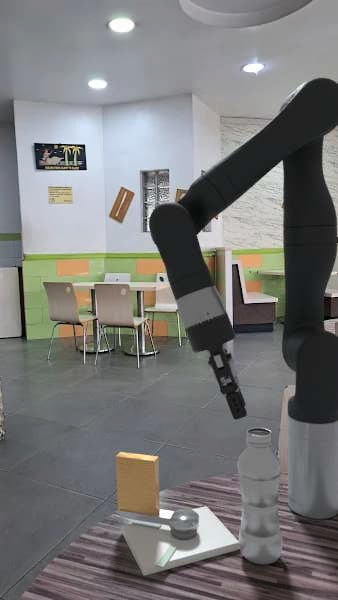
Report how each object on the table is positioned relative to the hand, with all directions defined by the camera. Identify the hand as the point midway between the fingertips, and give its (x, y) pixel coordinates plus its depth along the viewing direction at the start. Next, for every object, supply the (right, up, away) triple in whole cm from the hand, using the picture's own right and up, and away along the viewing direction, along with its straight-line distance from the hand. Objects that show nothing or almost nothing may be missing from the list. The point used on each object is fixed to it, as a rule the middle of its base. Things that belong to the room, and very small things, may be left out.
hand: (240, 412), depth 77 cm
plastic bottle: (+3, -22, -4) cm, 22 cm away
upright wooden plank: (-13, -19, +3) cm, 23 cm away
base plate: (-10, -21, +1) cm, 24 cm away
